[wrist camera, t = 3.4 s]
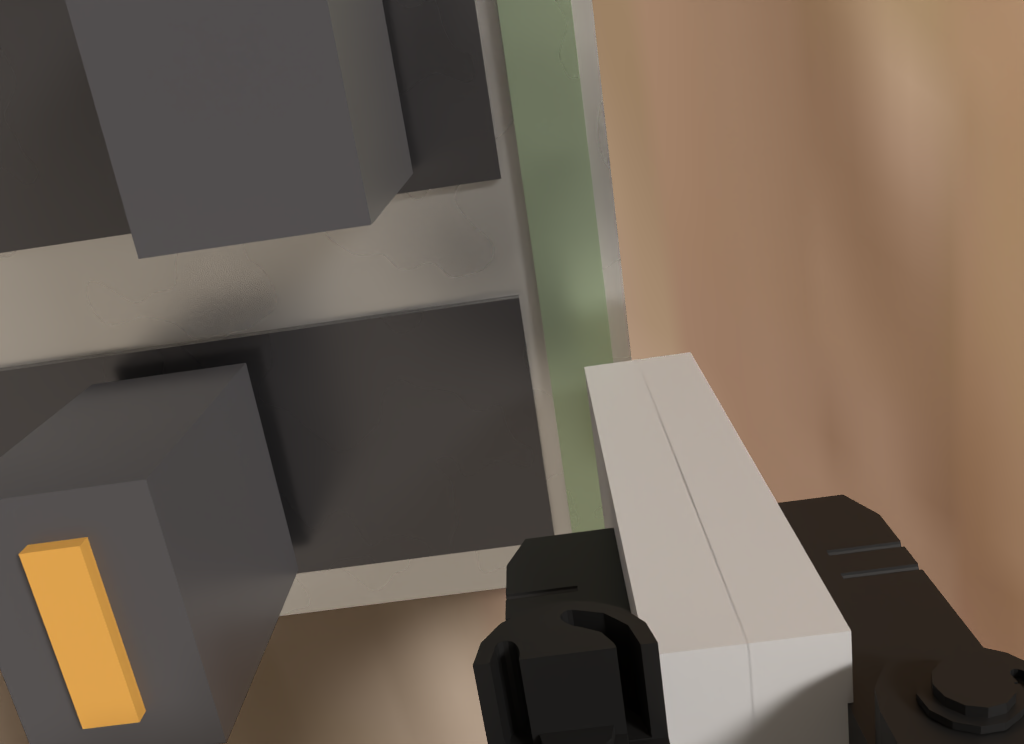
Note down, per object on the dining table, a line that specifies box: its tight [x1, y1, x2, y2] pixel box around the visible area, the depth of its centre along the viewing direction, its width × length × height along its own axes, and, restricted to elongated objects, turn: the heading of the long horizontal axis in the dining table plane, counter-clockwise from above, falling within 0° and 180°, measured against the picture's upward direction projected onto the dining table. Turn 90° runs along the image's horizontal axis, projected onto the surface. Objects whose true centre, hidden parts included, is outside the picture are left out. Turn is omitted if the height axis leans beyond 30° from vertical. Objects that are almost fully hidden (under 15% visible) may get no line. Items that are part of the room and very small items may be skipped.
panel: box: [0, 0, 631, 616], centre depth 14 cm, size 18×14×2 cm
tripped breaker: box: [0, 363, 299, 744], centre depth 13 cm, size 4×2×4 cm, turn 8°
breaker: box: [65, 0, 413, 259], centre depth 11 cm, size 4×2×4 cm, turn 8°
